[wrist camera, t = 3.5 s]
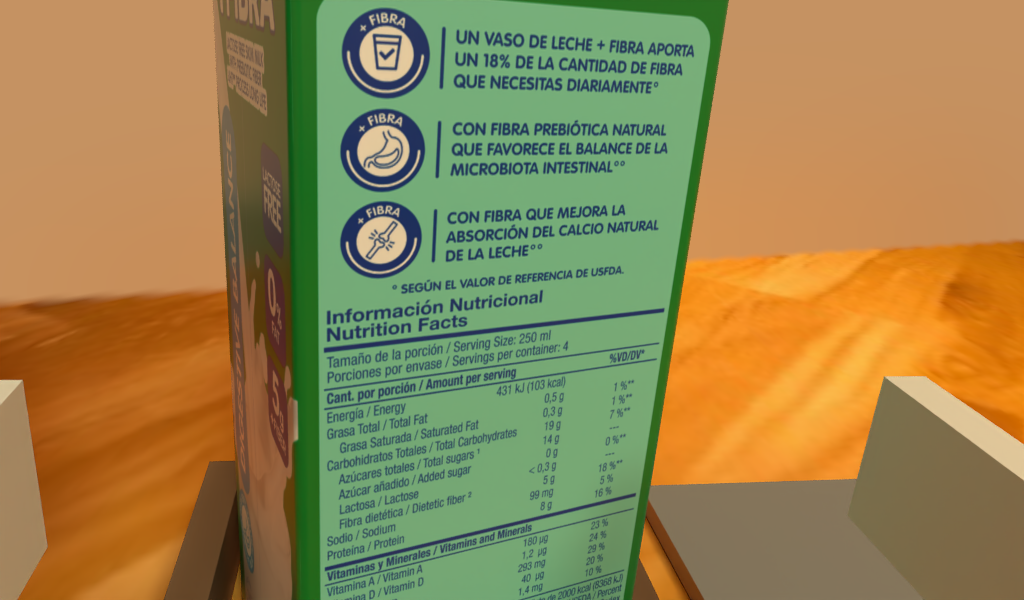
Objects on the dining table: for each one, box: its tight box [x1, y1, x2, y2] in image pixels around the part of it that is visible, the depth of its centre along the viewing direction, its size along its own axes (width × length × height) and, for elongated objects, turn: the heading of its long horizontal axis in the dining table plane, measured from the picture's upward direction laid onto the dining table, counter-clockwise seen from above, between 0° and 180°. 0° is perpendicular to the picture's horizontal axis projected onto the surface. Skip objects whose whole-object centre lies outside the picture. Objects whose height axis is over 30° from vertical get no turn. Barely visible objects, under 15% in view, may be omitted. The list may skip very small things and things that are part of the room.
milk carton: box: [213, 0, 729, 600], centre depth 21 cm, size 9×9×25 cm
